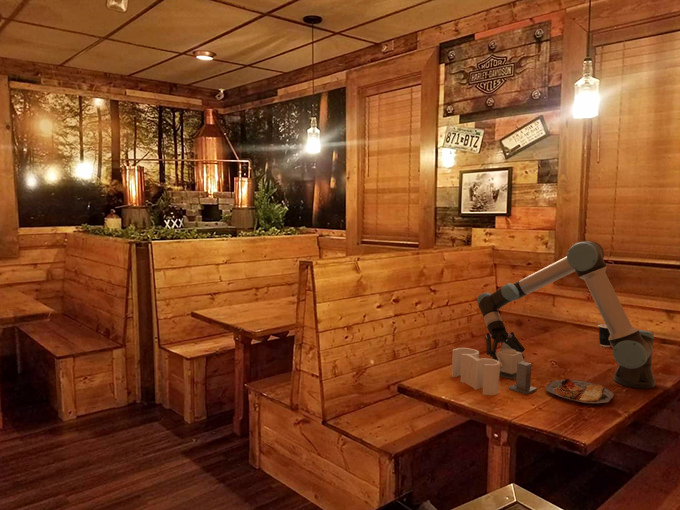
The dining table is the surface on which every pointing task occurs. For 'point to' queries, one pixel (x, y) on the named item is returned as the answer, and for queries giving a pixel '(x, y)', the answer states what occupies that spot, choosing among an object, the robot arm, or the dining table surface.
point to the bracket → (476, 370)
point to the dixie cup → (604, 336)
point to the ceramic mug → (506, 347)
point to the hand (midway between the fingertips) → (512, 367)
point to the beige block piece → (509, 360)
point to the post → (523, 379)
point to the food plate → (589, 390)
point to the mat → (508, 375)
